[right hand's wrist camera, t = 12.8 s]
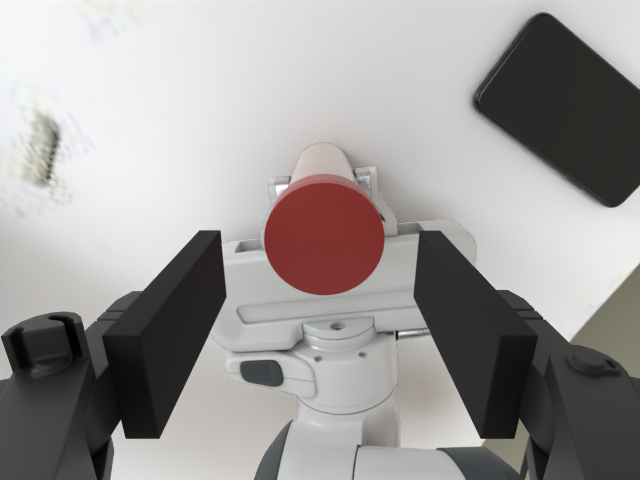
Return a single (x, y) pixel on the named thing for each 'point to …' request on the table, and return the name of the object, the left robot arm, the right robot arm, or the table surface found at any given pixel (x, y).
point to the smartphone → (567, 109)
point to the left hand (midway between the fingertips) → (321, 173)
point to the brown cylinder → (322, 163)
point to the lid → (324, 235)
